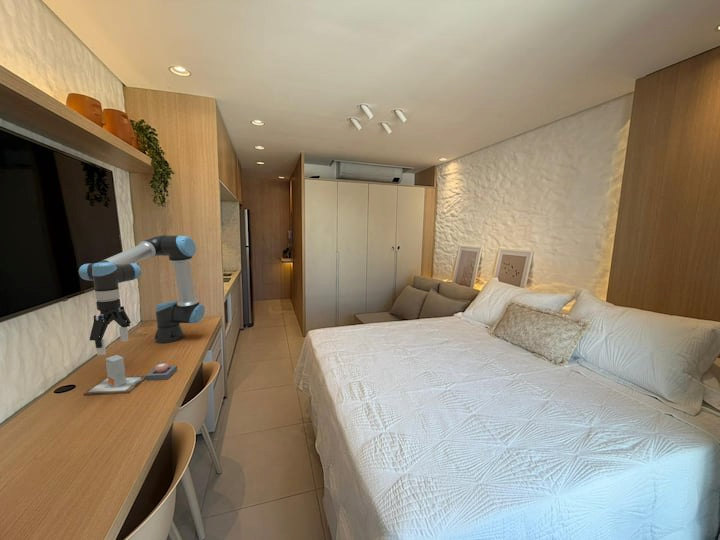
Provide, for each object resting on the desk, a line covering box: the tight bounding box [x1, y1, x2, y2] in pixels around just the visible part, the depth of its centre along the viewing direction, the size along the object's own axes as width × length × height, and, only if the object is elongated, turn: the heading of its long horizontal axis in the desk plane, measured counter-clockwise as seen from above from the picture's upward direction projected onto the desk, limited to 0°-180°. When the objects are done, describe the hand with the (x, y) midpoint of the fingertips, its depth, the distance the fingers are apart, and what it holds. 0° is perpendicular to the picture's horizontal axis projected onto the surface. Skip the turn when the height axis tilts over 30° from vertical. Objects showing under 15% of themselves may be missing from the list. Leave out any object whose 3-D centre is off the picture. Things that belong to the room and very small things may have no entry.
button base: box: [145, 365, 178, 382], centre depth 134 cm, size 9×9×2 cm
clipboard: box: [83, 375, 146, 396], centre depth 125 cm, size 13×17×1 cm
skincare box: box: [105, 354, 127, 387], centre depth 124 cm, size 6×4×12 cm
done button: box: [154, 362, 169, 373], centre depth 134 cm, size 5×5×3 cm
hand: (113, 347), depth 122 cm, fingers open, 13 cm apart
